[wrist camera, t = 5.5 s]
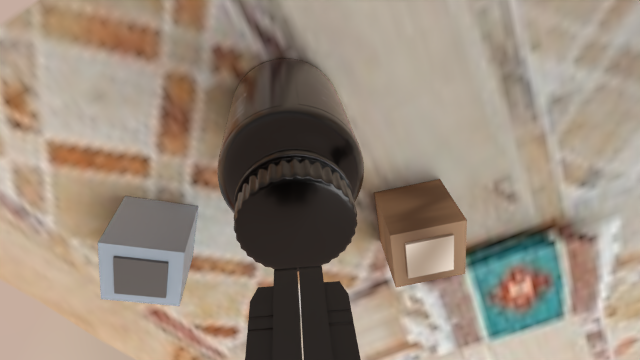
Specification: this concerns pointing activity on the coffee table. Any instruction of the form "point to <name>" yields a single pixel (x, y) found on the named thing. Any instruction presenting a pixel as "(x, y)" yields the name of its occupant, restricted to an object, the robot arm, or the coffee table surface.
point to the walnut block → (421, 232)
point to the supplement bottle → (290, 166)
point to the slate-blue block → (147, 251)
